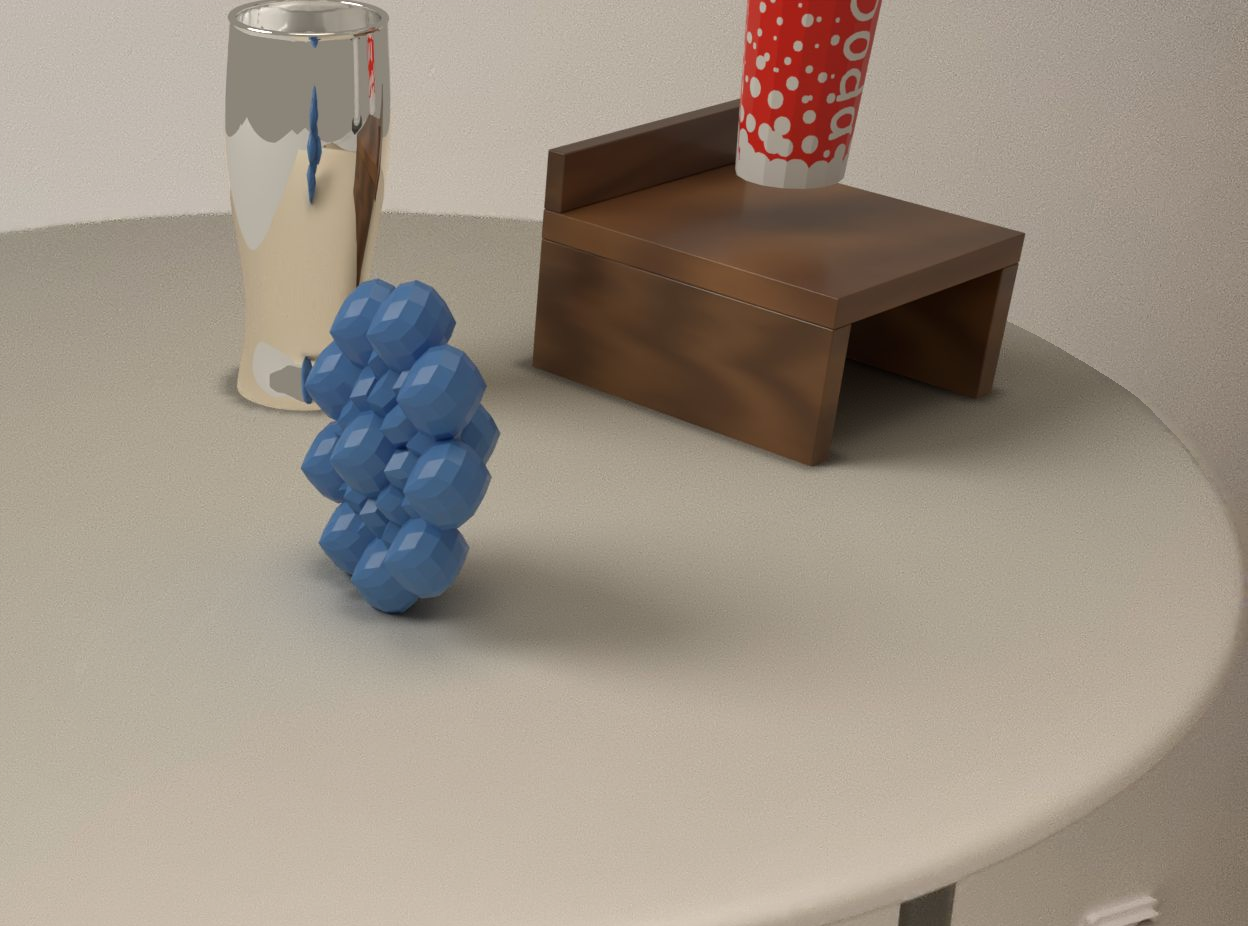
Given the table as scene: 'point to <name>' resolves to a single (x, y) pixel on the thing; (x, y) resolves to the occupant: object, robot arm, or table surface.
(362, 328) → the grapes
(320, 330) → the beer glass
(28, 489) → the table surface
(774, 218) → the shelf
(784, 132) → the beverage cup
